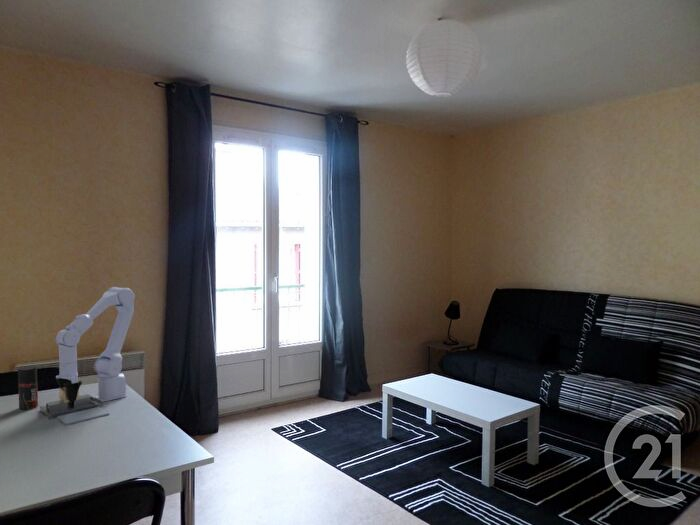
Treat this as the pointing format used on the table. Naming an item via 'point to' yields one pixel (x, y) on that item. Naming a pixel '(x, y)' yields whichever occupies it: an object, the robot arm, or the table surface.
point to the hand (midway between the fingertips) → (69, 398)
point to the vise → (68, 406)
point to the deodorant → (27, 387)
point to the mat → (82, 415)
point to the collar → (65, 395)
